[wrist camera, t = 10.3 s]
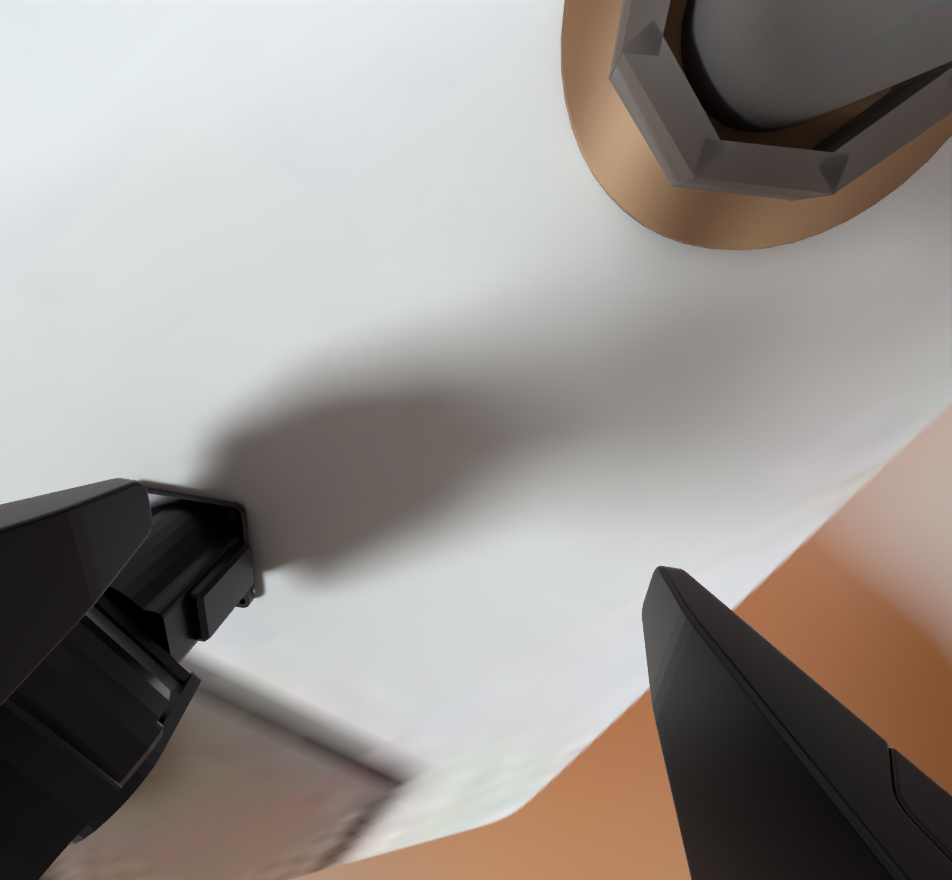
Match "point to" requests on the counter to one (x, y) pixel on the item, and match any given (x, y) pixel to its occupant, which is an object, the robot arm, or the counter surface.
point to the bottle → (806, 54)
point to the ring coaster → (729, 137)
